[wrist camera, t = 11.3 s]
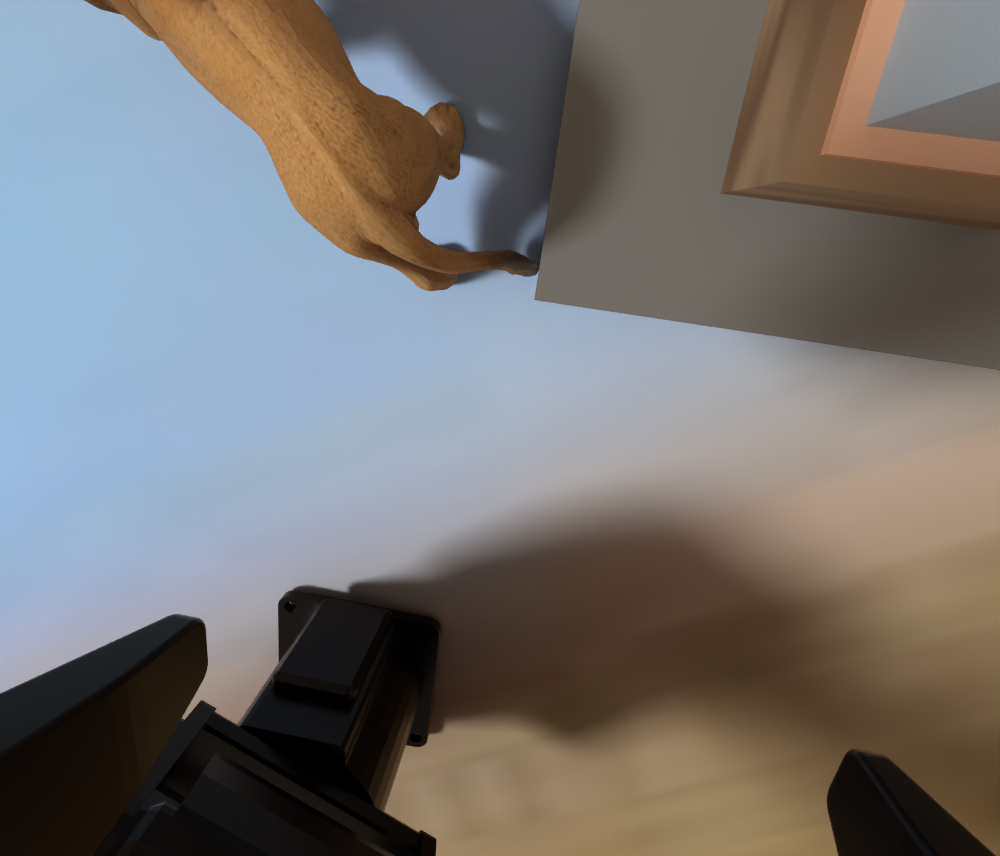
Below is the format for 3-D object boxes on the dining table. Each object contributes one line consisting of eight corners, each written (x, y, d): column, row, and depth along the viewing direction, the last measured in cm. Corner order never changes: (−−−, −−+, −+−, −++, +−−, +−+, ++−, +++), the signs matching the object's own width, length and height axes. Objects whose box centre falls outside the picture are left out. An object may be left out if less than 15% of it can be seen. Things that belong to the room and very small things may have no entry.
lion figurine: (95, 16, 17) (-392, -188, 8) (170, -180, 15) (-360, -699, 6) (490, 333, 18) (417, 428, 10) (600, 191, 17) (624, 163, 8)
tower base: (1079, 376, 17) (1355, 463, 11) (536, 295, 18) (516, 333, 12) (1416, -281, 12) (2276, -793, 6) (631, -334, 13) (678, -807, 7)
